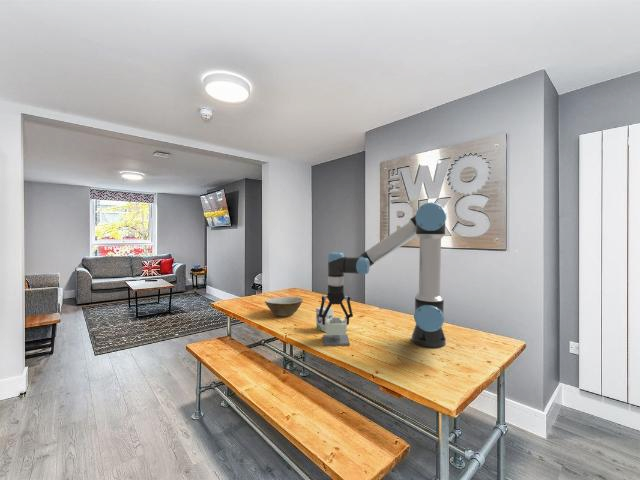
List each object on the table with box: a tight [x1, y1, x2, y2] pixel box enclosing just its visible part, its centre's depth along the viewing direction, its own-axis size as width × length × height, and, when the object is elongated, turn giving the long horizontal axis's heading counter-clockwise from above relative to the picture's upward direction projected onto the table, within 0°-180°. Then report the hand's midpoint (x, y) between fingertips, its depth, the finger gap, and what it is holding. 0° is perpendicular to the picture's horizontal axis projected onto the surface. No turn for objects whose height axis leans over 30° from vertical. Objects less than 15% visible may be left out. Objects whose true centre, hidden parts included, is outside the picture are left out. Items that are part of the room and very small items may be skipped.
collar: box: [325, 318, 347, 335], centre depth 145 cm, size 9×9×5 cm
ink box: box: [315, 306, 334, 333], centre depth 161 cm, size 9×5×12 cm, turn 47°
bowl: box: [264, 296, 304, 317], centre depth 190 cm, size 24×24×10 cm
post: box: [322, 316, 351, 347], centre depth 145 cm, size 12×12×11 cm
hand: (335, 331), depth 145 cm, fingers closed on collar, 9 cm apart
